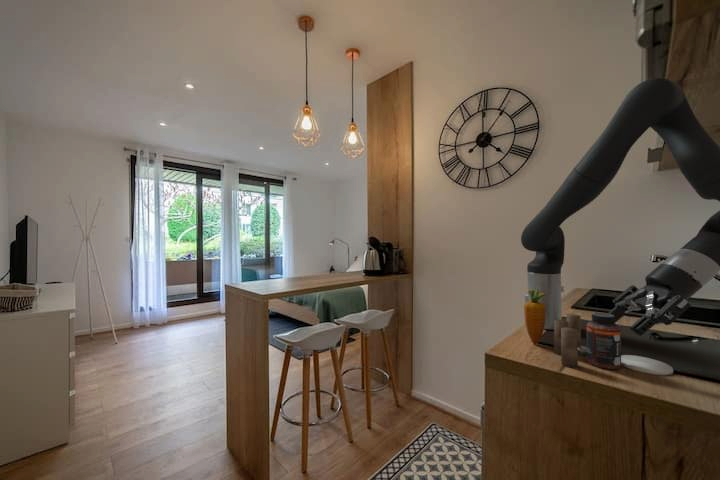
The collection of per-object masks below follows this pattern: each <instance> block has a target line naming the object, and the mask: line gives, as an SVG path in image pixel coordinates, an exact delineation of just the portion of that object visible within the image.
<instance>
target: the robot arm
mask: <svg viewBox="0 0 720 480" xmlns="http://www.w3.org/2000/svg"><path fill="white" fill-rule="evenodd" d="M650 128H651V129H652V130H653V131H654V132H655V133H656V134H657V135H658V136H659V137H660V138H661V140H662V141H664V143H665V145H666V146H667V147H668V150H669V151H670V153H671V155H672V157H673V159H674V161H675V163H676V165H677V167H678V169H679V170H680V172H681V174H682V175H683V176H684V178H685V180H686V181H687V182H688V184H689V185H690V186H691V187H692V188H693V190H694V191H695V192H696V193H697V194H698V196H699V197H700V198H701V199H703V200H708V201H710V200H712V201H713V200H715V201H718V202H719V203H720V146H719V144H718V143H717V142H716V141H715V140H714V139H713V138H712V136H711V135H710V134H709V133H708V132H707V131H706V130H705V128H704V127H703V126H702V124H701V123H700V121H699V120H698V118H697V117H696V115H695V113H694V112H693V109H692V107H691V106H690V103H689V101H688V99H687V97H686V94H685V92H684V88H683V87H682V85H681V84H679V83H677V82H676V81H673V80H671V79H668V78H664V77H652V78H649V79H647V80H644V81H642V82H640V83H638V84H637V85H635V86H634V87H633V88H632V89H631V90H630V91H629V92H628V93H627V94H626V95H625V97H624V99H623V100H622V102H621V104H620V105H619V106H618V108H617V109H616V112H615V113H614V114H613V116H612V118H611V120H610V121H609V123H608V124H607V126H606V127H605V129H604V130H603V132H601V134H600V136H598V138H597V139H596V140H595V142H594V143H593V144H592V145H591V146H590V147H589V149H588V150H587V151H586V153H585V154H584V156H583V157H581V159H580V160H579V161H578V163H577V164H576V165H575V166H574V167H573V169H572V170H571V171H570V173H569V174H568V176H567V177H566V178H565V179H564V180H563V183H561V185H560V186H559V188H558V189H557V190H556V191H555V193H554V194H553V195H552V196H551V198H550V199H549V201H548V202H547V203H546V204H545V206H544V207H543V208H542V209H541V210H540V211H539V212H538V213H537V214H536V216H534V217H533V218H532V219H531V220H530V221H529V223H528V224H526V226H525V227H524V229H523V230H522V232H521V235H520V236H521V237H520V242H521V243H520V244H521V245H522V247H523V248H524V249H525V250H527V251H530V252H535V256H534V259H532V260H531V261H530V262H529V263H528V264H527V267H526V271H527V273H526V274H527V275H526V276H527V277H526V278H527V293H526V294H525V295H524V304H525V303H526V302H530V301H531V297H530V294H529V291H530V290H531V289H534V297H535V295H536V291H537V290H539V294H538V296H539V295H540V294H542V293H544V294H545V295H544V296H542V297H541V298H540V299H539V300H538V302H540V303H542V304H543V305H544V306H545V325H544V330H553V331H554V320H557V319H558V320H563V319H562V318H563V317H562V314H563V313H562V267H563V265H564V261H565V243H566V239H565V234H564V231H563V229H562V227H561V225H562V224H563V223H564V222H565V221H566V220H567V219H569V218H570V217H572V216H573V215H575V214H576V213H577V212H580V210H582V209H584V208H585V207H586V206H588V205H589V204H590V203H592V202H593V201H595V200H596V199H597V198H598V197H599V196H600V195H601V193H602V192H603V191H604V190H605V189H606V188H607V187H608V186H609V185H610V183H611V182H612V181H613V179H614V178H615V177H616V176H617V174H618V172H619V170H620V169H621V167H622V165H623V163H624V160H625V159H626V157H627V155H628V153H629V151H630V150H631V149H632V147H633V146H634V144H635V143H637V141H638V140H639V139H640V138H641V137H642V136H643V135H644V134H645V132H647V130H648V129H650ZM719 272H720V210H718V211H716V212H715V213H714V214H713V215H712V216H710V217H709V218H708V220H706V222H705V223H704V224H703V225H702V227H701V228H700V229H699V230H698V233H697V234H696V235H695V236H694V237H693V238H692V239H690V240H689V241H687V243H685V244H684V245H682V247H681V248H680V249H679V250H677V251H675V252H674V253H672V254H671V255H669V257H667V258H665V260H663V261H662V262H661V263H660V264H659V265H657V267H655V268H654V269H653V270H652V271H651V272H649V274H647V275H646V276H645V278H644V280H645V286H643V287H640V288H638V287H637V286H635V285H634V284H632V285H630V286H629V287H627V288H626V289H625V290H624V291H623V292H621V293H620V294H619V295H618V296H617V297H615V298H613V300H612V303H613V304H614V308H612V309H611V310H610V311H609V312H608V313H607V314H612V315H614V316H615V324H616V323H617V322H618V321H619V320H620V319H622V318H623V317H624V316H625V315H626V314H627V313H630V312H632V311H636V312H637V311H641V310H644V311H645V316H644V315H642V316H641V317H640V318H638V319H637V320H636V321H635V322H634V323H633V324H632V325H630V326H629V330H631V331H632V333H634V334H635V335H637V336H642V335H644V334H645V333H647V332H648V331H649V330H650V329H651V328H652V327H654V326H655V325H656V326H658V325H661V324H664V325H665V326H670V325H672V324H673V323H674V322H675V321H676V320H677V319H678V318H679V317H680V316H682V314H684V313H685V312H686V311H687V310H688V309H689V308H690V307H691V304H690V302H688V300H689V299H690V298H691V297H693V296H694V295H695V294H696V293H698V292H699V291H700V290H701V289H703V287H705V286H706V285H707V284H708V283H710V282H711V281H712V280H713V279H714V278H715V277H716V275H717V274H718V273H719ZM667 313H669V315H668V316H666V315H667Z"/></svg>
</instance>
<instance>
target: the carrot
mask: <svg viewBox="0 0 720 480" xmlns="http://www.w3.org/2000/svg"><path fill="white" fill-rule="evenodd" d="M529 294H530V297H531V301H530V302H526V303H525V302H524V304H523V312H524V322H525V323H524V324H525V328H526V332H527V334H528V336H529V338H530V340H531V342H532V344H534V345H537V344H538V343H539V342H540V340H541V338H542V335H543V333H544V330H545V329H544V325H545V306H544V305H543V304H542V303H540V302H538V300H539V299H540V298H541V297H542V296H544V295H545V294H544V293H542V294H540V295H539V296H538V294H539V290H537V291H536V295H535V297H534V289H531V290H530V291H529Z"/></svg>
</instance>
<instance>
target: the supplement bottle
mask: <svg viewBox="0 0 720 480" xmlns="http://www.w3.org/2000/svg"><path fill="white" fill-rule="evenodd" d="M621 340H622V332H621V327H620V326H619V325H617V324H616V323H615V316H614V315H612V314H608V313H607V312H592V313H591V320H590V321H589V322H587V323H586V347H587V356H586V359H587V362H588V363H589V364H591V366H592V365H593V366H595V367H598V368H601V369H607V370H619V369H621V367H622V365H621V355H622V341H621Z"/></svg>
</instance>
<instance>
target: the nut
mask: <svg viewBox="0 0 720 480" xmlns="http://www.w3.org/2000/svg"><path fill="white" fill-rule="evenodd" d="M578 356H583V357H587V346H583V345H581V346H579V345H578Z"/></svg>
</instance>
